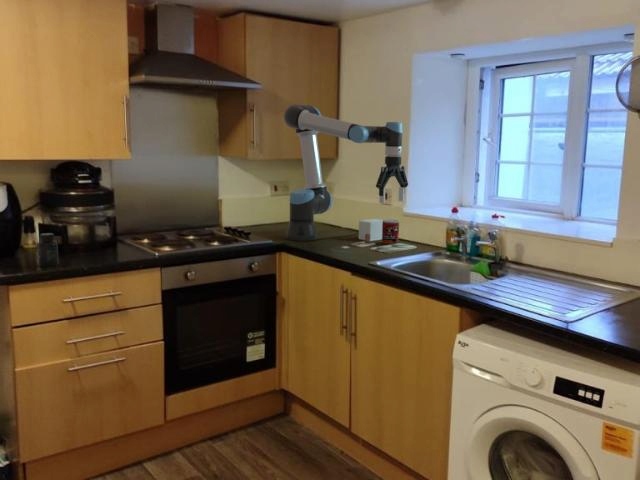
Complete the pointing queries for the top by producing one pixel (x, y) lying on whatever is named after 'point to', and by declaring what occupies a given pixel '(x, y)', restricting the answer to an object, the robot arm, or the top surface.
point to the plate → (366, 243)
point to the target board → (393, 248)
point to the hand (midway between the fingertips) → (391, 202)
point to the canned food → (390, 231)
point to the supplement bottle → (47, 250)
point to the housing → (370, 229)
